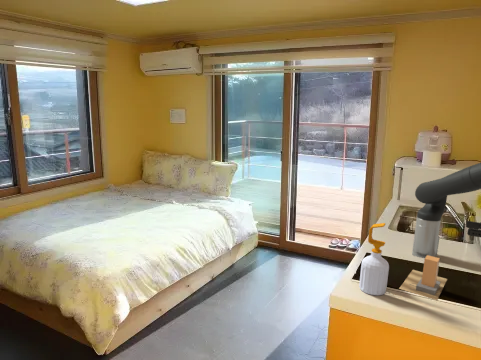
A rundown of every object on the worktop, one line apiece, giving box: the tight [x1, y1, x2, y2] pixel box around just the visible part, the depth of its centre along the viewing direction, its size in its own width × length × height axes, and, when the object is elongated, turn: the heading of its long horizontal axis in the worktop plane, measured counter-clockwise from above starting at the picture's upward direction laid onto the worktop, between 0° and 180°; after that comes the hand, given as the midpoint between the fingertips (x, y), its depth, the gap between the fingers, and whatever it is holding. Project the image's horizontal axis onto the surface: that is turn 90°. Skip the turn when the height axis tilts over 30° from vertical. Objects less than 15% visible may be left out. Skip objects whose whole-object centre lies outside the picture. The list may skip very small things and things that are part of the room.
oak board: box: [398, 269, 448, 301], centre depth 133 cm, size 20×12×2 cm, turn 142°
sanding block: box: [416, 255, 441, 296], centre depth 129 cm, size 9×6×11 cm, turn 142°
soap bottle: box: [358, 222, 390, 296], centre depth 128 cm, size 9×9×25 cm
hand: (466, 227), depth 119 cm, fingers open, 8 cm apart
